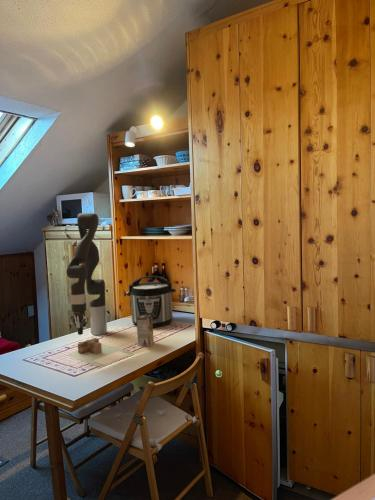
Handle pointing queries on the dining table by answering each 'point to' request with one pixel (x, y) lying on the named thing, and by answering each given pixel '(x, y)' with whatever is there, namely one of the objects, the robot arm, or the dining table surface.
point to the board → (102, 355)
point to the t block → (90, 346)
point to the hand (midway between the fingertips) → (80, 334)
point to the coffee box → (145, 330)
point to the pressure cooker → (151, 300)
